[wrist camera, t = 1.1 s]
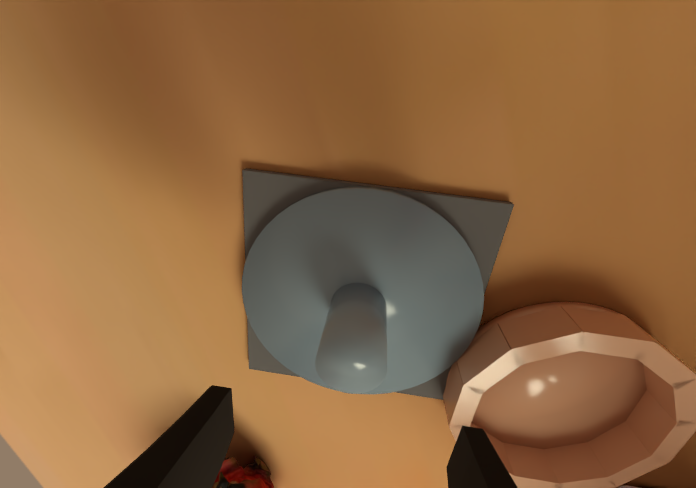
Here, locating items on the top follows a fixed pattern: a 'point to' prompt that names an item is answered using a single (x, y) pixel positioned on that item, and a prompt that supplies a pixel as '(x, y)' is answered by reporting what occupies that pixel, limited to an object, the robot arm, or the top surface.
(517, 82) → the top surface
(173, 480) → the robot arm
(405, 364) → the lid
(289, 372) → the mat
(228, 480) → the dragon fruit
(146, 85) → the top surface
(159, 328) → the top surface
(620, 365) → the bowl
